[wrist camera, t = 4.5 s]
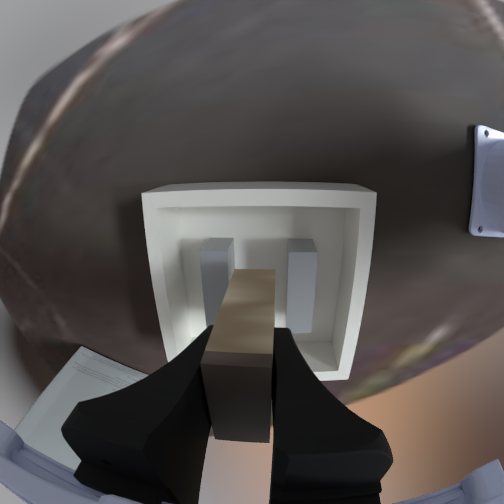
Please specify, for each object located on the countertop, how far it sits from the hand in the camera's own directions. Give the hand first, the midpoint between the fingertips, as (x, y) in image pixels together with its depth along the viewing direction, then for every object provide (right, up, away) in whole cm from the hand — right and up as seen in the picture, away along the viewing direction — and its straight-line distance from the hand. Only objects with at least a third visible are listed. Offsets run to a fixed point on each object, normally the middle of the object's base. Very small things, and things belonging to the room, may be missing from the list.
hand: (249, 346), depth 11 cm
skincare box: (-13, -9, +13) cm, 20 cm away
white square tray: (+1, +3, +7) cm, 8 cm away
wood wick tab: (0, +1, +3) cm, 4 cm away
